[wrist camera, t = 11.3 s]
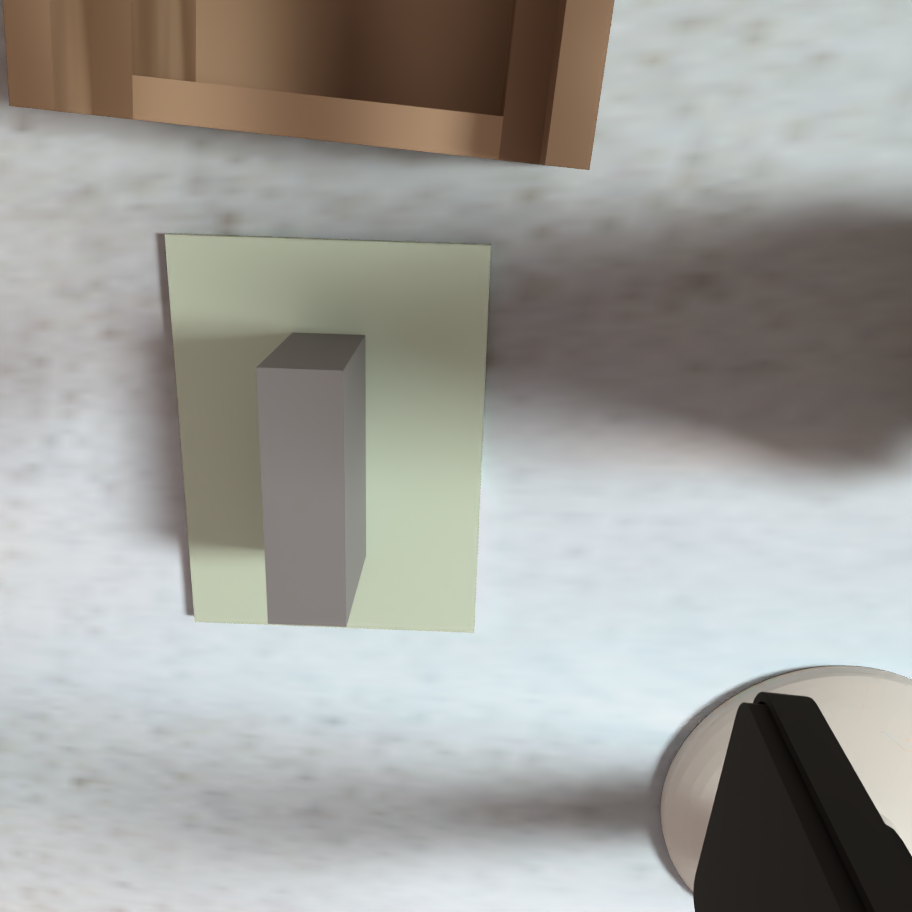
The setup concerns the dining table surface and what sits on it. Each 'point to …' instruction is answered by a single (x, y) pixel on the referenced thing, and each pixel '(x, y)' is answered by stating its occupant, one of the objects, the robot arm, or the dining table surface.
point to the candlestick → (851, 720)
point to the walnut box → (327, 69)
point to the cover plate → (402, 411)
